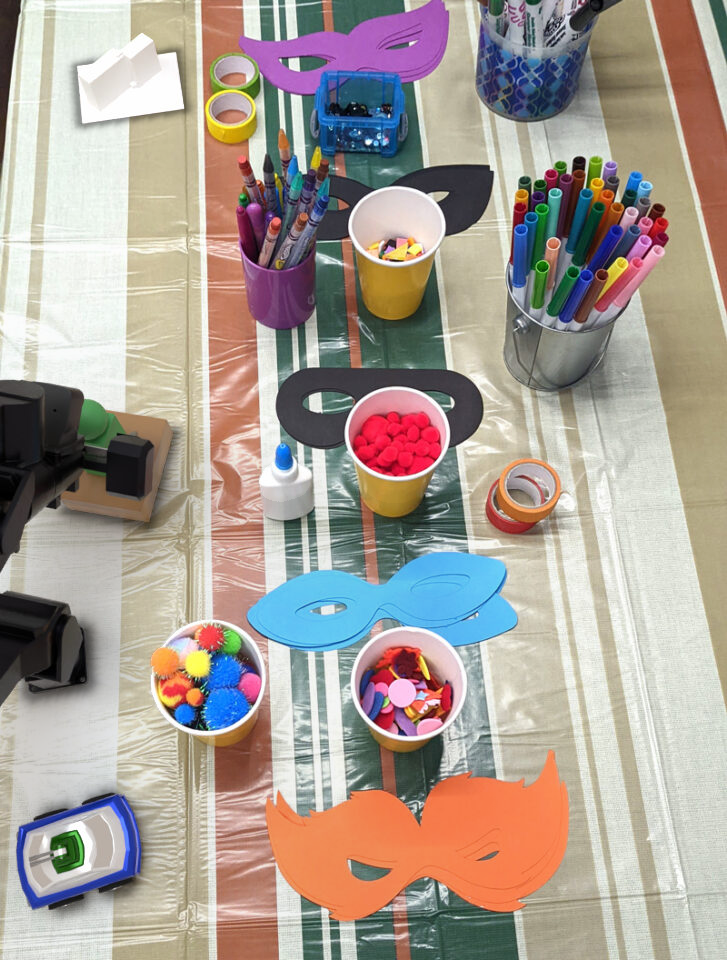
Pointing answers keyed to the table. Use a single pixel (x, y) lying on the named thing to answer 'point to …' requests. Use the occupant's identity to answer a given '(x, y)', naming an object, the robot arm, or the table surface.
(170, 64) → the napkin holder
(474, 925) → the table surface
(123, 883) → the toy car
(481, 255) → the table surface
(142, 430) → the oak block
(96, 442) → the toy pawn
